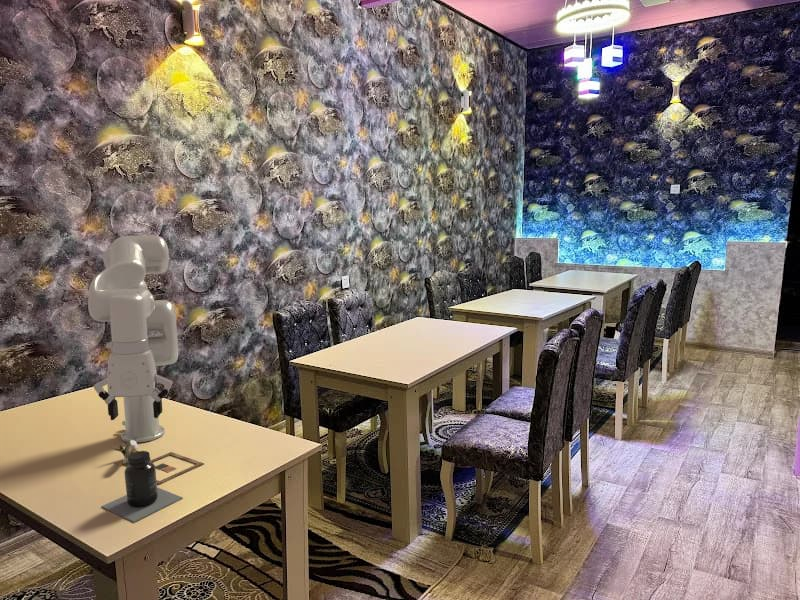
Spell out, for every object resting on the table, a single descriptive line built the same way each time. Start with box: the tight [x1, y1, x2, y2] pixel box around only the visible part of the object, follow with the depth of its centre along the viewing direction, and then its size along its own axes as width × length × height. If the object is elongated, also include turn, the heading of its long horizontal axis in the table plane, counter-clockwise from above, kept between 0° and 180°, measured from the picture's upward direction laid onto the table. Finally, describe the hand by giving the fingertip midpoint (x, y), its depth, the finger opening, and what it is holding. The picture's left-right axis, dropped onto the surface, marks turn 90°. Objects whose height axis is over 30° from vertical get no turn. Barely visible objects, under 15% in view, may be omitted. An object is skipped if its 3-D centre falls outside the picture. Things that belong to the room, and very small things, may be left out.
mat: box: [101, 486, 184, 524], centre depth 141 cm, size 13×13×1 cm
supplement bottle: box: [124, 450, 158, 507], centre depth 140 cm, size 7×7×12 cm
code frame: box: [150, 451, 205, 486], centre depth 159 cm, size 14×14×1 cm
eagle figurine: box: [111, 440, 139, 465], centre depth 162 cm, size 8×7×9 cm
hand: (136, 417), depth 137 cm, fingers open, 9 cm apart
